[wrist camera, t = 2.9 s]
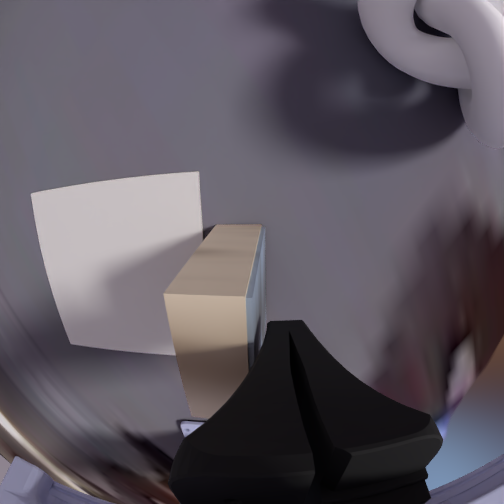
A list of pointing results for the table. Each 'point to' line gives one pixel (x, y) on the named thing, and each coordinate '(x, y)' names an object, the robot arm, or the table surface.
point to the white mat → (118, 256)
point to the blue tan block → (218, 314)
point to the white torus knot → (448, 52)
